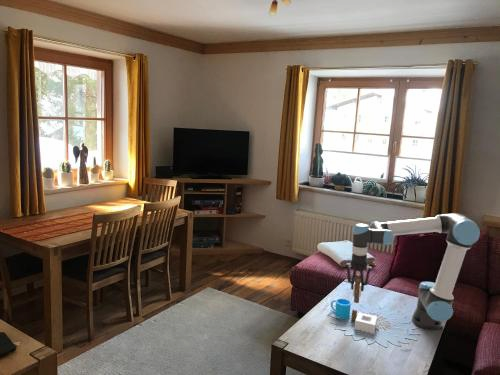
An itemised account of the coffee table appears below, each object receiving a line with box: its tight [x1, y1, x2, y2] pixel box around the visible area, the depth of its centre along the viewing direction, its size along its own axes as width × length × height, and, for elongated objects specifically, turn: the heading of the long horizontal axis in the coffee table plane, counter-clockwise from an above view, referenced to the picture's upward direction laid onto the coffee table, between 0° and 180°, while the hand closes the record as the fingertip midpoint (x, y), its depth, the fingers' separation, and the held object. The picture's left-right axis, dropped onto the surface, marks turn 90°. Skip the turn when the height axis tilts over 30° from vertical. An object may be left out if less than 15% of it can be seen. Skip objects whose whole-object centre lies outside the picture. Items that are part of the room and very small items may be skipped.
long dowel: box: [353, 273, 361, 304], centre depth 212 cm, size 3×3×15 cm
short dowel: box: [350, 309, 358, 323], centre depth 221 cm, size 3×3×6 cm
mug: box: [330, 298, 352, 320], centre depth 227 cm, size 12×8×8 cm
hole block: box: [354, 311, 378, 334], centre depth 214 cm, size 10×10×5 cm
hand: (356, 295), depth 212 cm, fingers closed on long dowel, 2 cm apart
